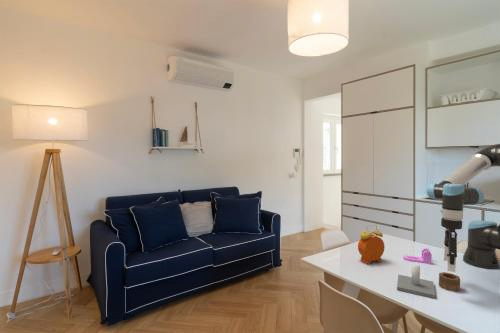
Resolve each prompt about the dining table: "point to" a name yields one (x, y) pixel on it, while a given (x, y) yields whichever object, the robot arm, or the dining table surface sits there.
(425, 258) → the bracket
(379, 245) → the alarm clock
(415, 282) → the post
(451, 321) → the dining table surface
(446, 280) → the collar
